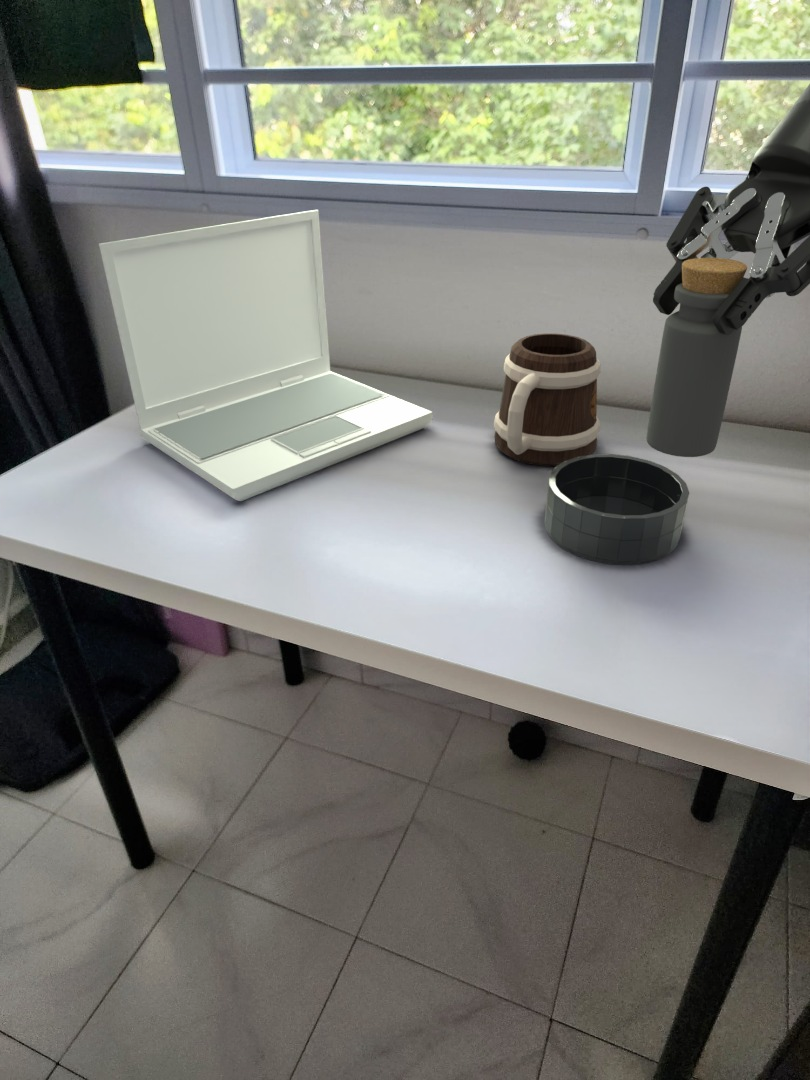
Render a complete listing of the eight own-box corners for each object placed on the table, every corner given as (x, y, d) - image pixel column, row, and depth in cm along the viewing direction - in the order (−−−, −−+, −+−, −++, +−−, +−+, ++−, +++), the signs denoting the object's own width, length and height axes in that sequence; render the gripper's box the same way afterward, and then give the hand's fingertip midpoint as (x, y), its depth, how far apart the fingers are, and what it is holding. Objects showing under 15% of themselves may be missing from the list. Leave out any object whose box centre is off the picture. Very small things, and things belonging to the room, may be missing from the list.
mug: (518, 417, 118) (525, 321, 109) (611, 437, 111) (626, 337, 103) (458, 467, 103) (460, 362, 95) (561, 494, 97) (573, 383, 88)
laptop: (235, 507, 95) (198, 277, 80) (141, 443, 112) (96, 243, 96) (432, 427, 115) (433, 230, 99) (327, 383, 131) (314, 209, 116)
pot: (701, 523, 90) (711, 479, 87) (640, 582, 80) (649, 534, 77) (586, 484, 99) (591, 442, 96) (519, 532, 89) (522, 488, 86)
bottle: (631, 437, 66) (658, 261, 58) (683, 424, 68) (715, 252, 60) (677, 463, 62) (713, 276, 54) (731, 449, 64) (773, 267, 56)
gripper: (738, 93, 59) (604, 269, 61) (917, 98, 49) (748, 311, 51) (768, 162, 64) (643, 323, 66) (936, 180, 54) (781, 372, 56)
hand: (689, 317), depth 58 cm, fingers closed on bottle, 5 cm apart
